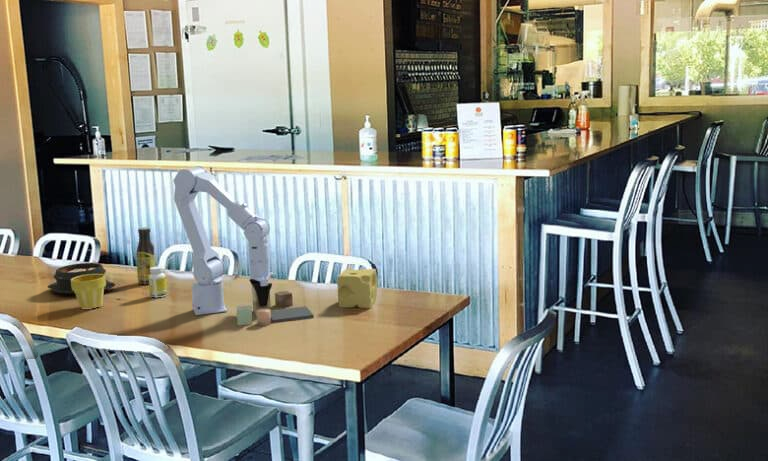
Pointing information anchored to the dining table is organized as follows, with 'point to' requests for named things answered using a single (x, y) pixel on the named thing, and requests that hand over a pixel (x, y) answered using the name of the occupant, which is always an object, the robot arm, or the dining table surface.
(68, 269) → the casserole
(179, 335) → the dining table surface
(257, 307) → the oak block
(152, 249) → the sauce bottle
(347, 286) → the cheese
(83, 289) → the plant pot
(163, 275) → the supplement bottle
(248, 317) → the sage block
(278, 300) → the walnut block
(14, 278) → the dining table surface
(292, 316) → the bar mat
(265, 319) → the brown block
